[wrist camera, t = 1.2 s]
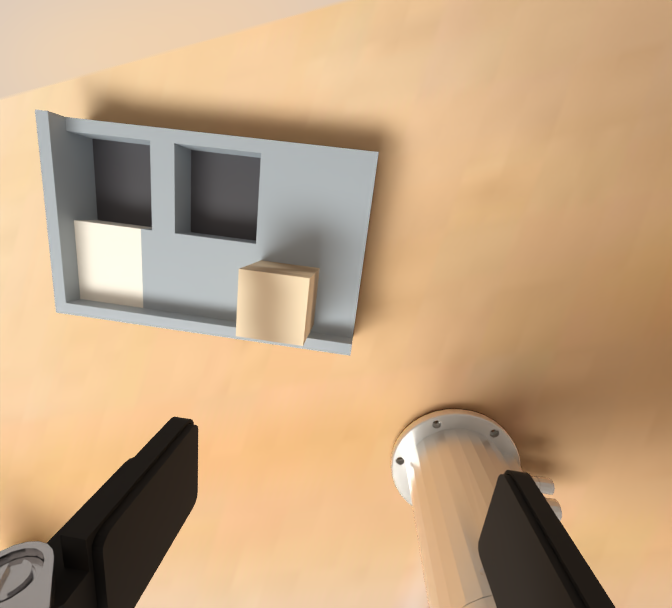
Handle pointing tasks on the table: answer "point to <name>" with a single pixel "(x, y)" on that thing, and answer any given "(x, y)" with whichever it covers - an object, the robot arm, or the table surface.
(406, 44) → the table surface
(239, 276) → the maple cube
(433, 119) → the table surface
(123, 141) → the board
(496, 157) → the table surface
